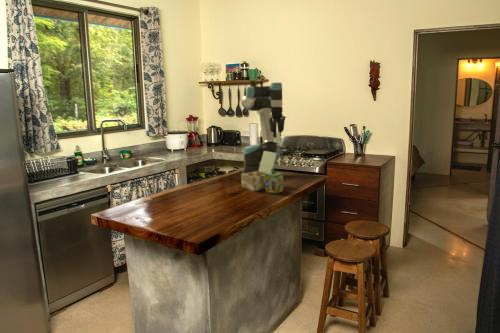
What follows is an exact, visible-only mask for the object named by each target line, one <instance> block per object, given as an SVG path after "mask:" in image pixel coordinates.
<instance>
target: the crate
mask: <svg viewBox="0 0 500 333" xmlns="http://www.w3.org/2000/svg"><path fill="white" fill-rule="evenodd" d="M265 174H267V173H265V172H260V171H257V172H250V173H244V174H242V173H241V174H240V180H241V182H240V183H241V188H243V189H244V190H245V189H246V190H248V191H251V192H257V191H262V190H265Z"/></svg>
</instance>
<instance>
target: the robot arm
mask: <svg viewBox="0 0 500 333" xmlns="http://www.w3.org/2000/svg"><path fill="white" fill-rule="evenodd" d="M241 105H242V107H243V108H244V109H245V110H248V111H251V112H256V113H257V114H258V115H259V121H260V128H261V137H262V142H261V145H260V144H249V145H247V146H245V147H244V149H243V160H244V161H243V165H244V167H243V170H242V173H241V174H244V173H250V172H257V171H259V167H260V164H261V160H262V156H263V152H264V151H268V152H273V153H277V156H276V160H275V162H278V161H279V159H280V156H281V148H280V145H278V143H281V137H282V133H283V131H284V129H285V120H286V118H287V117H286V116H285V115H283V83H282V82H271V83H270V85H269V86H268V85H266V86H265V85H264V86H262V85H261V86H247V87H246V89H245V95H244V96H243V97H242V99H241Z"/></svg>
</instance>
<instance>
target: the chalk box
mask: <svg viewBox="0 0 500 333" xmlns="http://www.w3.org/2000/svg"><path fill="white" fill-rule="evenodd" d="M275 170H276V169H275V167H274V168H272V169H271V171H272V172H270V173H267V174H265V189H264V190H265V193H268V194H280V193H282V192H284V173H283V172H278V171H277V172H276V171H275Z"/></svg>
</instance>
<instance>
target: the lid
mask: <svg viewBox="0 0 500 333" xmlns="http://www.w3.org/2000/svg"><path fill="white" fill-rule="evenodd" d="M276 156H277V153H273V152H268V151H264V152H263V156H262V160H261V162H260V167H259V171H260V172H264V173H270V172H272V171H271V169H272V168H274V169H275V163H276V161H275V160H276Z"/></svg>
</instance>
